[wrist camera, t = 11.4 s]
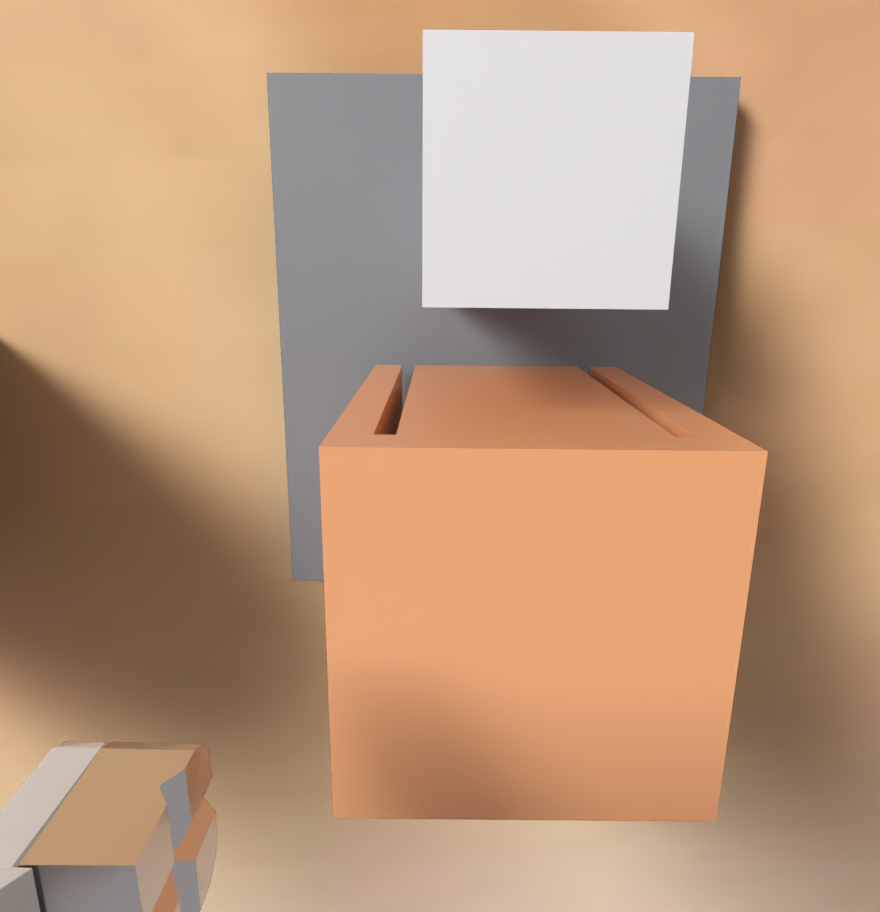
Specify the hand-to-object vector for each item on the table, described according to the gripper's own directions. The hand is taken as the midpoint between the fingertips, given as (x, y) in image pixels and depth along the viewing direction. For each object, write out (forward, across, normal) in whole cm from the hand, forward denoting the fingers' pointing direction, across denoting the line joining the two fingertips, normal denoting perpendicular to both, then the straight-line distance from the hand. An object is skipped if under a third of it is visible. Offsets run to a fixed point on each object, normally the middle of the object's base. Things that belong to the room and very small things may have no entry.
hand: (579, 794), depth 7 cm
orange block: (+12, 0, 0) cm, 12 cm away
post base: (+14, 0, -3) cm, 15 cm away
